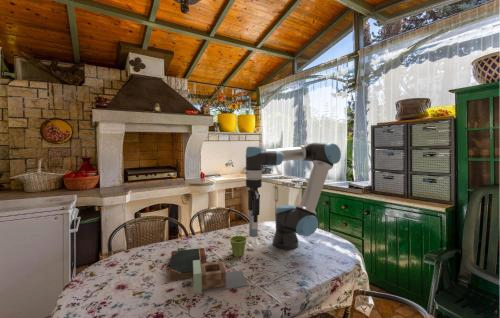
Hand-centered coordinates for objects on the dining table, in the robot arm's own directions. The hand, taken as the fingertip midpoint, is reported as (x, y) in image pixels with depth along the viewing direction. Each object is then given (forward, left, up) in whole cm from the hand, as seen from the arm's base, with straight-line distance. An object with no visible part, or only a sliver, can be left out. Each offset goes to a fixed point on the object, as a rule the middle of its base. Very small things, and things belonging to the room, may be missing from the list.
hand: (253, 226), depth 120 cm
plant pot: (+4, -16, -20) cm, 26 cm away
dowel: (0, 0, -4) cm, 4 cm away
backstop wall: (+27, +8, -20) cm, 35 cm away
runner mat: (+16, +8, -20) cm, 27 cm away
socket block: (+21, +8, -20) cm, 30 cm away
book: (+31, -10, -21) cm, 38 cm away
